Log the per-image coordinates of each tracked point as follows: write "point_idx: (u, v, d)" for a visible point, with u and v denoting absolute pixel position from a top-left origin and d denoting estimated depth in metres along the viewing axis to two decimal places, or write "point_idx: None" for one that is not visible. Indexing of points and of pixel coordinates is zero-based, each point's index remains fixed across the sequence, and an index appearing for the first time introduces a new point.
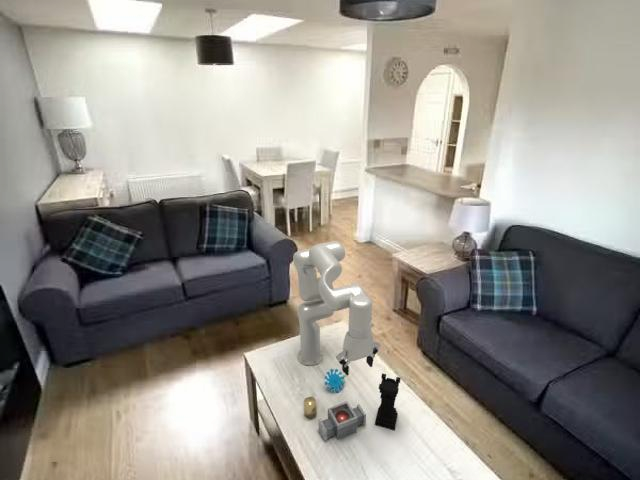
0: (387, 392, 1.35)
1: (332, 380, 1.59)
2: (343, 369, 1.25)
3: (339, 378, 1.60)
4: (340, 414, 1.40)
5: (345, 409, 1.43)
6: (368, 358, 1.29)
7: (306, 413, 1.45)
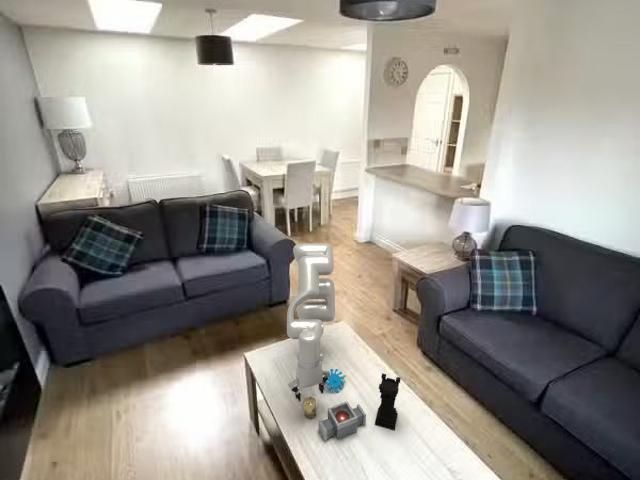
0: (387, 392, 1.35)
1: (332, 380, 1.59)
2: (296, 396, 1.39)
3: (339, 378, 1.60)
4: (340, 414, 1.40)
5: (345, 409, 1.43)
6: (319, 385, 1.43)
7: (306, 413, 1.45)
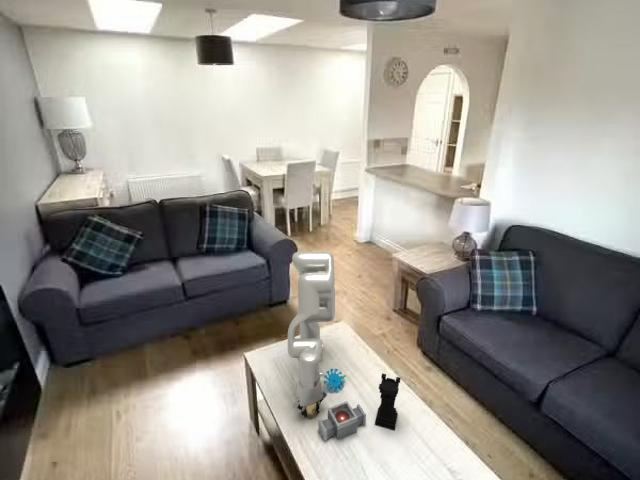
0: (387, 392, 1.35)
1: (332, 379, 1.59)
2: (301, 412, 1.45)
3: (339, 378, 1.61)
4: (340, 414, 1.40)
5: (345, 409, 1.43)
6: None
7: (306, 413, 1.45)
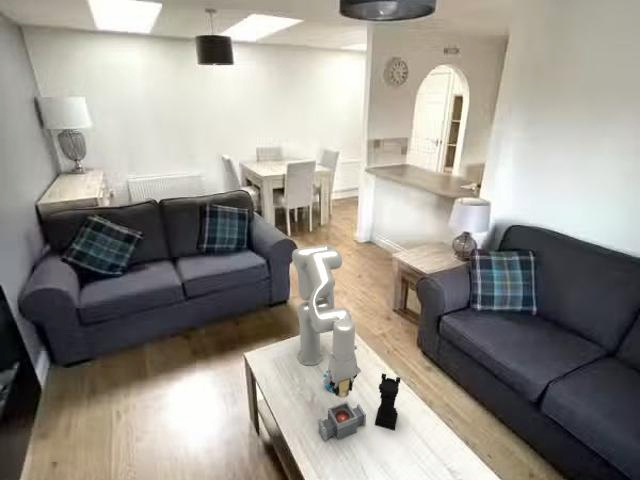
0: (387, 392, 1.35)
1: (331, 379, 1.59)
2: (333, 390, 1.32)
3: None
4: (340, 414, 1.40)
5: (345, 409, 1.43)
6: None
7: (338, 391, 1.32)
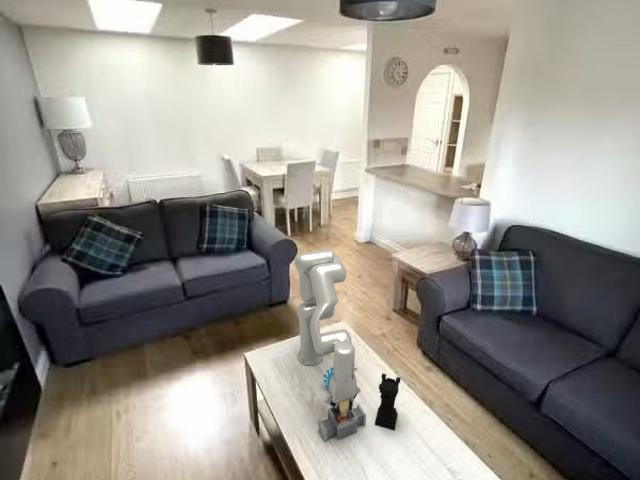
0: (387, 392, 1.35)
1: None
2: (334, 409, 1.36)
3: None
4: None
5: None
6: None
7: (339, 410, 1.35)
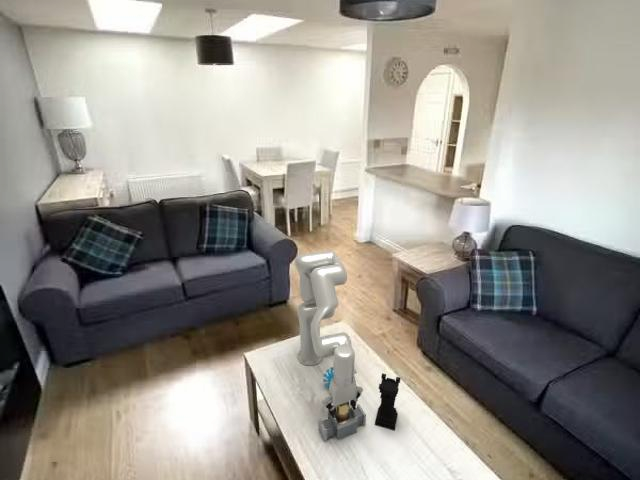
0: (387, 392, 1.35)
1: (331, 378, 1.60)
2: (329, 412, 1.35)
3: None
4: None
5: None
6: (351, 401, 1.39)
7: (338, 415, 1.37)
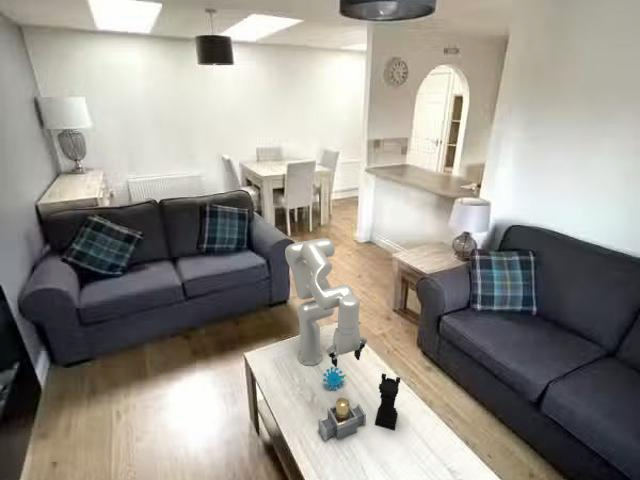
0: (387, 392, 1.35)
1: (331, 378, 1.60)
2: (332, 361, 1.38)
3: (338, 377, 1.61)
4: None
5: None
6: (356, 352, 1.41)
7: (338, 415, 1.37)
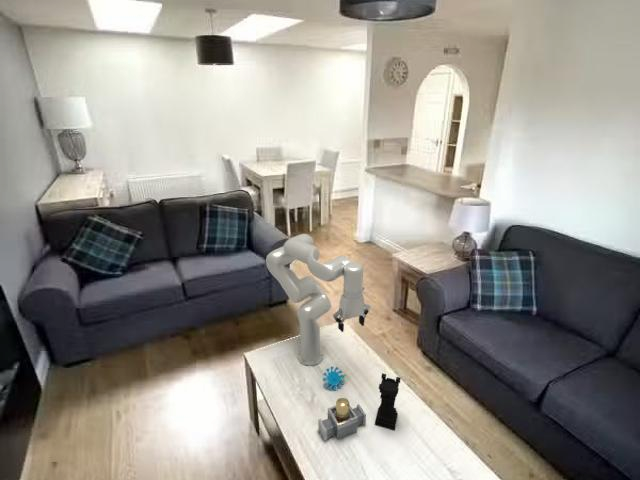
0: (387, 392, 1.35)
1: (331, 377, 1.60)
2: (339, 326, 1.49)
3: (338, 376, 1.61)
4: None
5: None
6: (360, 318, 1.52)
7: (338, 415, 1.37)
